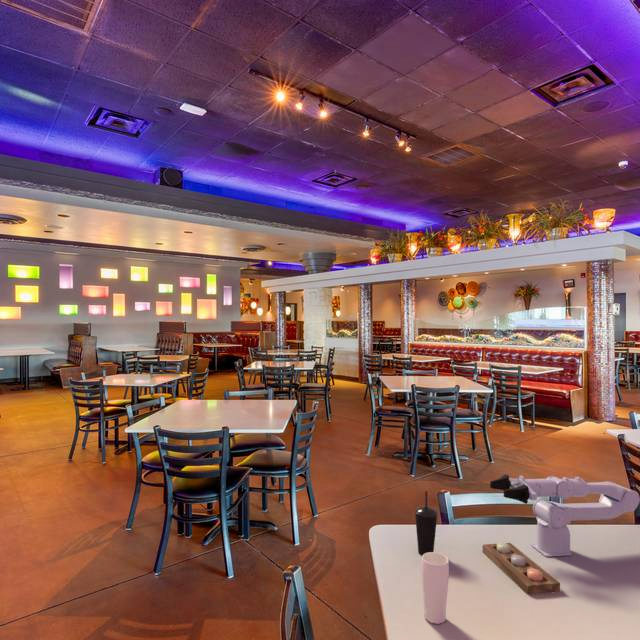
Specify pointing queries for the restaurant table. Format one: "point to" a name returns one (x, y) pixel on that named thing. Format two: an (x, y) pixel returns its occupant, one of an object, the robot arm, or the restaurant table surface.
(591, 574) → the restaurant table surface
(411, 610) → the restaurant table surface
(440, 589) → the drinking glass
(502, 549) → the sage button
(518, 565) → the grey button
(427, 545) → the drinking cup
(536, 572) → the terracotta button
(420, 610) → the restaurant table surface
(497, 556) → the panel
